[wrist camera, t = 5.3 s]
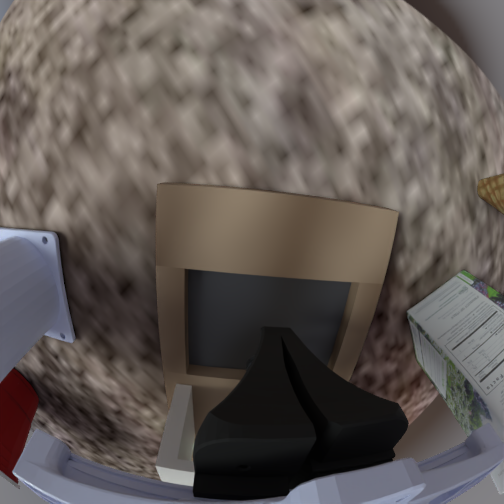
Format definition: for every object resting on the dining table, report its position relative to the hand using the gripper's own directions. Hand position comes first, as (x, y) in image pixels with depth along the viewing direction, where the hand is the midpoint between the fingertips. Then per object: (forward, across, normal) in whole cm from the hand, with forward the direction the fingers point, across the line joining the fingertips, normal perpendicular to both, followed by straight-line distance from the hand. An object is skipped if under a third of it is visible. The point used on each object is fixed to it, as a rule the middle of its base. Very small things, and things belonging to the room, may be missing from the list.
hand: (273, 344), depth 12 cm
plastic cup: (+4, +25, +14) cm, 29 cm away
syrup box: (+4, -13, +1) cm, 14 cm away
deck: (+3, 0, +7) cm, 8 cm away
